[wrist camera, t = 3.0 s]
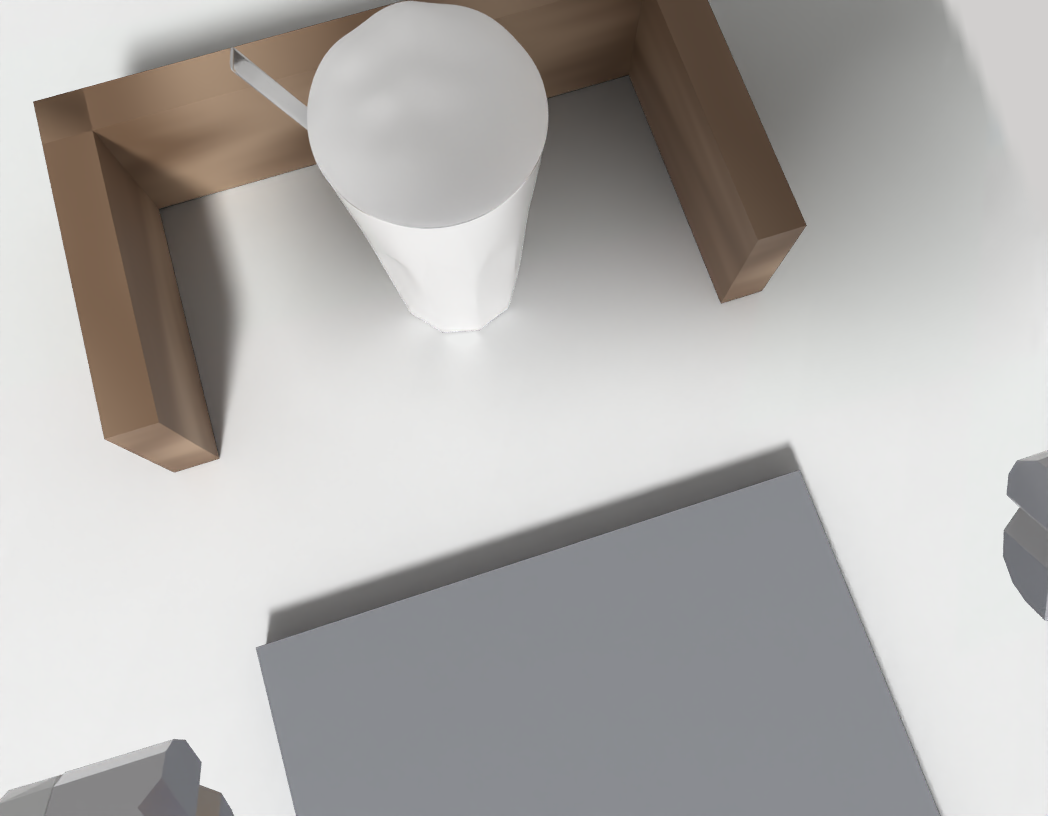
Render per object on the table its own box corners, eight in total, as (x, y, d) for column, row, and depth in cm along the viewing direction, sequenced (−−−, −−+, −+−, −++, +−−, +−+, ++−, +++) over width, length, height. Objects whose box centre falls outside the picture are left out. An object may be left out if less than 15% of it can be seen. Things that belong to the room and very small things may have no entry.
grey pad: (397, 1195, 19) (392, 1218, 19) (265, 647, 22) (255, 647, 21) (989, 970, 20) (1008, 983, 20) (790, 475, 23) (799, 470, 22)
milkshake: (345, 209, 25) (232, -59, 15) (535, 198, 25) (542, -75, 16) (347, 364, 24) (226, 179, 14) (546, 352, 24) (560, 160, 14)
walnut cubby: (174, 472, 23) (104, 438, 19) (108, 183, 25) (33, 101, 21) (761, 290, 25) (806, 225, 21) (653, 30, 27) (675, -74, 23)
